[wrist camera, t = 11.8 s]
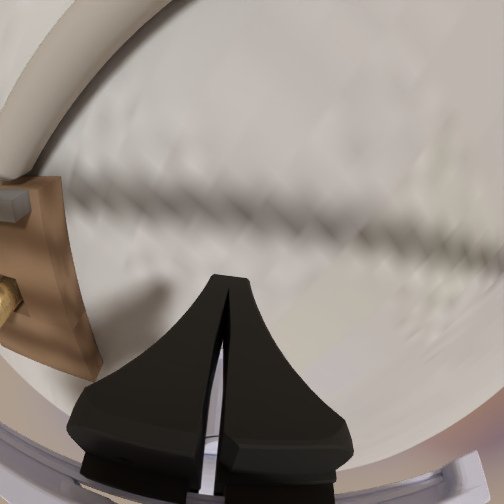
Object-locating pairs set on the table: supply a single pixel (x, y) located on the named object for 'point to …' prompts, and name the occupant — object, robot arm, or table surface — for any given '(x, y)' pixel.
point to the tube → (63, 74)
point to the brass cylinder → (8, 297)
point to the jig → (43, 279)
